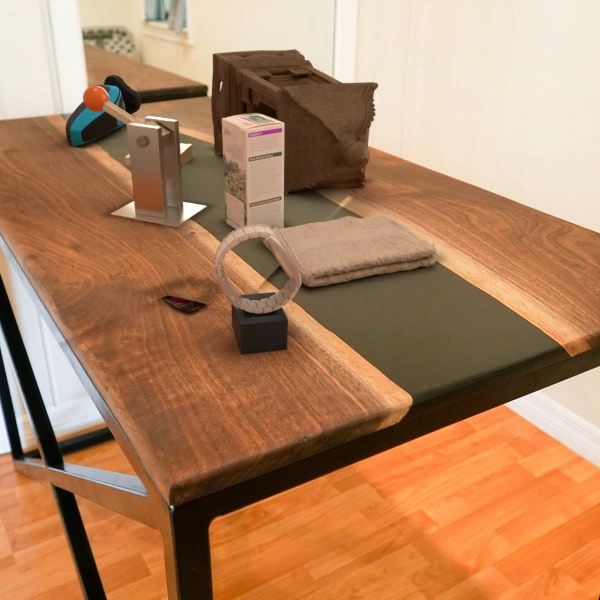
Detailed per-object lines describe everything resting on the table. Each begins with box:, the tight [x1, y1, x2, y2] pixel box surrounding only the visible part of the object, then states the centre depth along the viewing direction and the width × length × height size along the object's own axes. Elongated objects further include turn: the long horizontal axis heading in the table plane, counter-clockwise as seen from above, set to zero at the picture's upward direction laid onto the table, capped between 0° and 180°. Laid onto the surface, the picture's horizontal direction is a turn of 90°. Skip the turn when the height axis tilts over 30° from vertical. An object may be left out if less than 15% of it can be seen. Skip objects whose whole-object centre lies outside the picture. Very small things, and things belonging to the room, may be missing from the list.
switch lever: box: [82, 85, 170, 148], centre depth 83 cm, size 12×3×3 cm, turn 69°
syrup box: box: [222, 113, 285, 230], centre depth 81 cm, size 6×6×14 cm
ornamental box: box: [210, 48, 379, 196], centre depth 101 cm, size 35×18×18 cm, turn 27°
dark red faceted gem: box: [157, 294, 208, 313], centre depth 68 cm, size 5×5×1 cm
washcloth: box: [262, 215, 437, 288], centre depth 78 cm, size 12×18×3 cm, turn 116°
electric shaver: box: [65, 74, 142, 148], centre depth 124 cm, size 9×26×10 cm
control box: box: [124, 142, 194, 167], centre depth 108 cm, size 10×8×4 cm
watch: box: [213, 224, 304, 355], centre depth 60 cm, size 6×8×11 cm
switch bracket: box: [110, 115, 208, 229], centre depth 85 cm, size 10×8×13 cm
